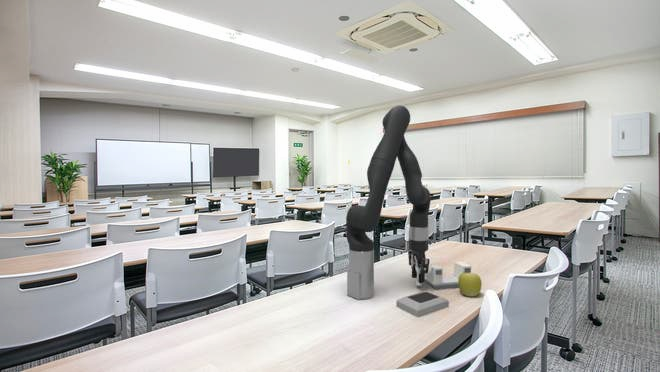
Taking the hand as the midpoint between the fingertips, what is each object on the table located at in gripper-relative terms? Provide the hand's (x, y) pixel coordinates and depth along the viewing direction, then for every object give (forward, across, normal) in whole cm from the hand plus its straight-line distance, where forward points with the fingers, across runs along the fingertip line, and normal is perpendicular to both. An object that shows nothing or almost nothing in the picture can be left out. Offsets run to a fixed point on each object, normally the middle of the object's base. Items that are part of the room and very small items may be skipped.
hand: (417, 280), depth 127 cm
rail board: (+3, +1, -14) cm, 14 cm away
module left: (+1, +1, -7) cm, 7 cm away
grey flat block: (+4, -17, +6) cm, 18 cm away
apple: (+3, -10, -16) cm, 19 cm away
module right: (+1, +1, -20) cm, 20 cm away
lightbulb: (+3, 0, 0) cm, 3 cm away
